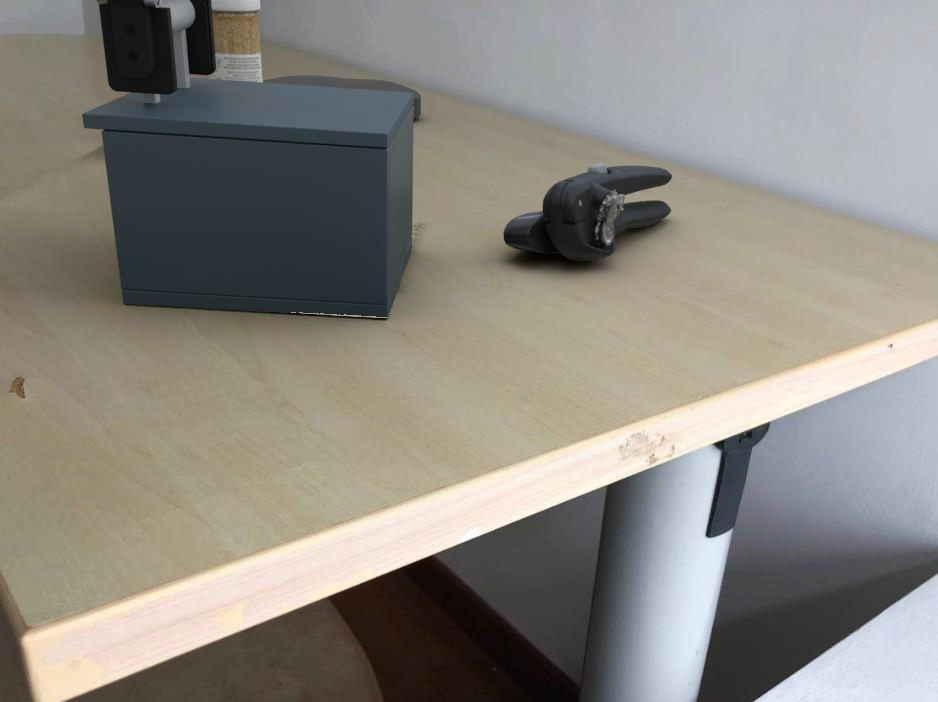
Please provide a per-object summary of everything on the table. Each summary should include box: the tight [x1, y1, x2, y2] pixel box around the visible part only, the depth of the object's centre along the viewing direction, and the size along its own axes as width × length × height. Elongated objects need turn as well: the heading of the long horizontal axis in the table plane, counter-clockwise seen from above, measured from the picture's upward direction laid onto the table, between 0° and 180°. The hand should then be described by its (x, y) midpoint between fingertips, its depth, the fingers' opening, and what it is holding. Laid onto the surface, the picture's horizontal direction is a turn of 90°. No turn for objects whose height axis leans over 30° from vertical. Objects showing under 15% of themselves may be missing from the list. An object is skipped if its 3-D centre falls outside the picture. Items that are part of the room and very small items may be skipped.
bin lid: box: [81, 0, 414, 148], centre depth 51 cm, size 14×13×6 cm
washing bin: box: [101, 106, 415, 318], centre depth 55 cm, size 14×13×9 cm
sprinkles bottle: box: [205, 0, 264, 82], centre depth 78 cm, size 5×5×14 cm
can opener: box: [502, 162, 673, 262], centre depth 66 cm, size 18×7×6 cm, turn 147°
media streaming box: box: [263, 74, 422, 119], centre depth 101 cm, size 15×15×3 cm
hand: (166, 78), depth 52 cm, fingers closed on bin lid, 6 cm apart
